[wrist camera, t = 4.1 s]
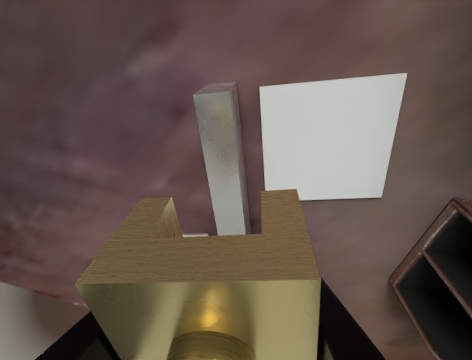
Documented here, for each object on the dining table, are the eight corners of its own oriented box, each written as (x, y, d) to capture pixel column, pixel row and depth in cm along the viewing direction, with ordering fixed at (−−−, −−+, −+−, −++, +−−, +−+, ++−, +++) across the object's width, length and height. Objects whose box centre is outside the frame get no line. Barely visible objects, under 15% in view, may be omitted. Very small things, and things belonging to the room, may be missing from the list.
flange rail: (245, 80, 16) (238, 97, 11) (262, 294, 27) (262, 355, 22) (98, 94, 18) (30, 116, 13) (168, 293, 28) (147, 350, 23)
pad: (404, 72, 15) (407, 73, 15) (379, 195, 20) (381, 197, 19) (259, 86, 17) (259, 87, 16) (265, 199, 21) (265, 201, 21)
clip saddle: (296, 188, 8) (354, 401, 3) (297, 303, 11) (329, 514, 6) (140, 198, 9) (-5, 386, 4) (177, 304, 12) (119, 494, 7)
